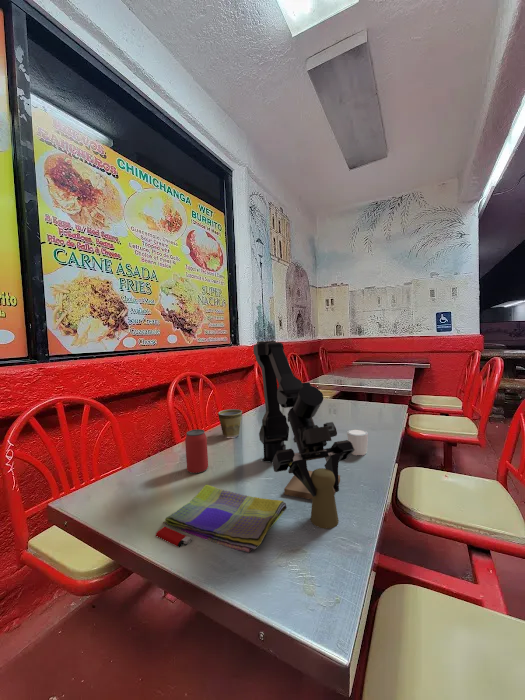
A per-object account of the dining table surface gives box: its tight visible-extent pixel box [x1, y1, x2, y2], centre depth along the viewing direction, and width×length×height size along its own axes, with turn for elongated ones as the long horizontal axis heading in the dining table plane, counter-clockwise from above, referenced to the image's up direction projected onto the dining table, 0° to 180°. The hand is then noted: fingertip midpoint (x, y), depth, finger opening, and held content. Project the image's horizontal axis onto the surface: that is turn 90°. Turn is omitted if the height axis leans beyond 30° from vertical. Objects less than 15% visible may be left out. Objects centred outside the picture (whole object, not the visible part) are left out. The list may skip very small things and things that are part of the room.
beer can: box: [184, 428, 209, 474], centre depth 95 cm, size 7×7×12 cm
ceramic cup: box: [217, 408, 243, 438], centre depth 128 cm, size 13×10×10 cm
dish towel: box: [162, 484, 287, 553], centre depth 69 cm, size 18×24×3 cm
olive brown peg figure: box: [310, 467, 339, 529], centre depth 66 cm, size 6×6×11 cm
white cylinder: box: [346, 428, 369, 456], centre depth 102 cm, size 7×7×7 cm
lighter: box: [155, 526, 193, 548], centre depth 63 cm, size 3×1×8 cm
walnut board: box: [283, 470, 341, 501], centre depth 80 cm, size 12×12×2 cm
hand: (326, 493), depth 65 cm, fingers closed on olive brown peg figure, 5 cm apart
